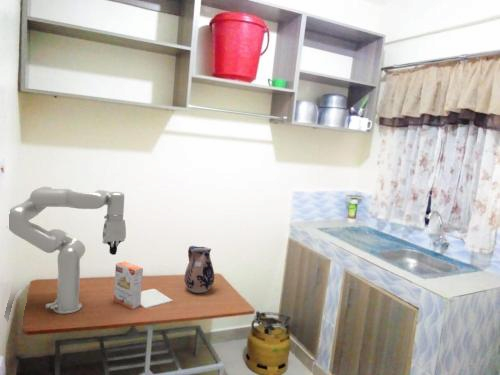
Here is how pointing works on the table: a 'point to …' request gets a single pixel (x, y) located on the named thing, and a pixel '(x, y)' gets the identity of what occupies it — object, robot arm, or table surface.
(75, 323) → the table surface
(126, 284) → the cracker box
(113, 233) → the robot arm
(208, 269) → the ceramic pitcher
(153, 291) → the mat
